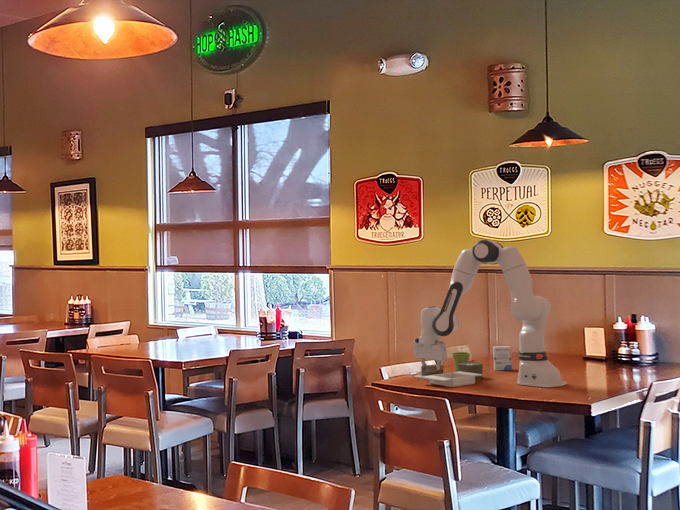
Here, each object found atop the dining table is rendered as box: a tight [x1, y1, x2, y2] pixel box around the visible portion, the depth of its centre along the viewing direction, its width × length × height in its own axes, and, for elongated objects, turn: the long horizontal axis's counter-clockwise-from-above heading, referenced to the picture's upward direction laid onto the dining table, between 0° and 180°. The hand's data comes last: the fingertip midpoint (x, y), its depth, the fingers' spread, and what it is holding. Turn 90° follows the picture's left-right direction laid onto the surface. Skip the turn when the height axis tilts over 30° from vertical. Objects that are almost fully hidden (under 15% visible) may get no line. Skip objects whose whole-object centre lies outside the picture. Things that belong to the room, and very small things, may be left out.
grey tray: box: [420, 371, 484, 388], centre depth 368 cm, size 15×25×4 cm, turn 125°
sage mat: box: [413, 374, 429, 381], centre depth 388 cm, size 12×12×1 cm
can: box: [457, 361, 484, 380], centre depth 384 cm, size 12×12×7 cm
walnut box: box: [420, 363, 444, 377], centre depth 388 cm, size 5×10×5 cm, turn 126°
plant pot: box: [451, 351, 471, 372], centre depth 409 cm, size 9×9×9 cm
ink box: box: [492, 345, 513, 371], centre depth 408 cm, size 9×5×12 cm, turn 84°
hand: (430, 368), depth 388 cm, fingers open, 8 cm apart
